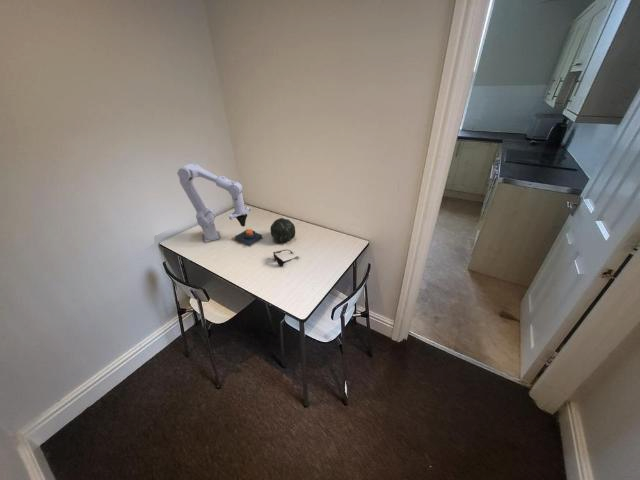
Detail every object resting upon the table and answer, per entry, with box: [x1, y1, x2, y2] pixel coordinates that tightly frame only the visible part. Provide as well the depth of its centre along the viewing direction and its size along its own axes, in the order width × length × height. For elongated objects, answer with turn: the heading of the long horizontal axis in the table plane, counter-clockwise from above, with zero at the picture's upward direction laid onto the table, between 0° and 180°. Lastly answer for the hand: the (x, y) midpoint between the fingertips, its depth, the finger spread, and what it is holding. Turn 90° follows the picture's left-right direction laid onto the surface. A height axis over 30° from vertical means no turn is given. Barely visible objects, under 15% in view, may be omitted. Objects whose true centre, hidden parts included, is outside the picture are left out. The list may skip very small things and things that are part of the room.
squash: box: [269, 217, 296, 243], centre depth 150 cm, size 14×15×15 cm
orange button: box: [245, 228, 254, 235], centre depth 150 cm, size 4×4×2 cm
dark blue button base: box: [234, 228, 263, 247], centre depth 152 cm, size 12×10×4 cm
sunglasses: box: [272, 249, 299, 267], centre depth 135 cm, size 11×12×5 cm
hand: (243, 225), depth 148 cm, fingers closed
